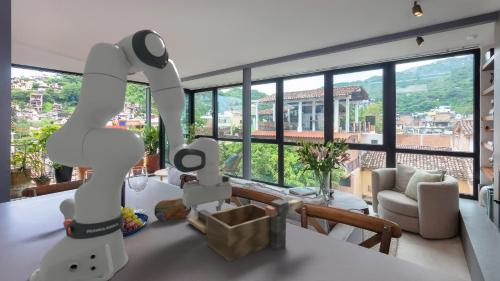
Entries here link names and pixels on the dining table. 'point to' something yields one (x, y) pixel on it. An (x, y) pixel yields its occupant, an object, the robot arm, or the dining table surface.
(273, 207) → the light wooden bar
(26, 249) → the dining table surface
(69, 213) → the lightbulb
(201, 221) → the lid
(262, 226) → the toolbox
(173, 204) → the tin
